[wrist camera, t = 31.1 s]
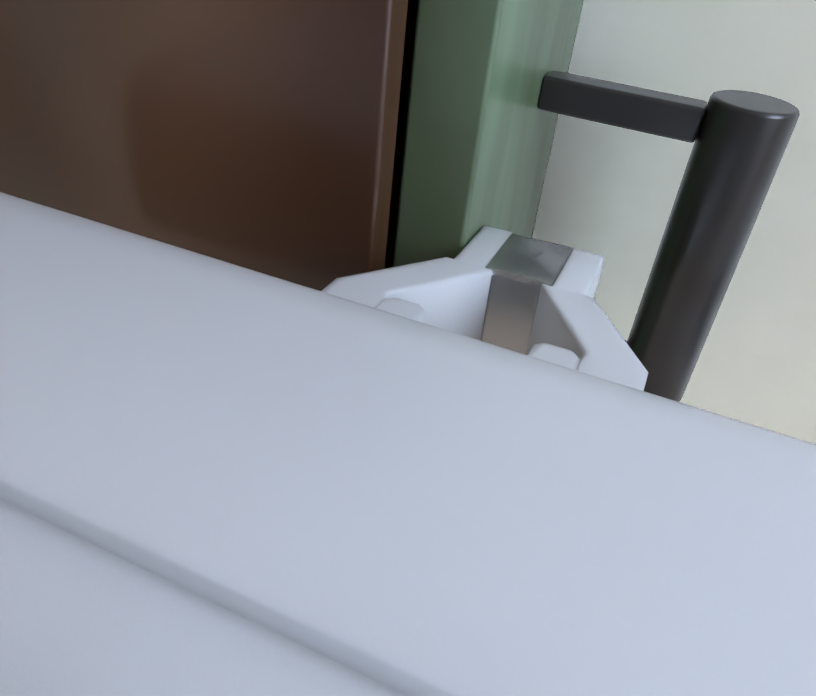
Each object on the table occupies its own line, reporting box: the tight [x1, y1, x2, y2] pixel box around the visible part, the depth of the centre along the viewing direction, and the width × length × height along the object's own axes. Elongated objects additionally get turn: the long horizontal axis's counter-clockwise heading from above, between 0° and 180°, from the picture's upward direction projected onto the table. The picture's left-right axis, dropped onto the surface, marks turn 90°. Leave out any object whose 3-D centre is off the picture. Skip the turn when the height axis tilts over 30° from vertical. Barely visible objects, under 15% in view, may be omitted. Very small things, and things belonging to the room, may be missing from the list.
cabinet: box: [0, 0, 408, 291], centre depth 16 cm, size 14×14×7 cm
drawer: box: [385, 0, 799, 402], centre depth 15 cm, size 18×13×6 cm
